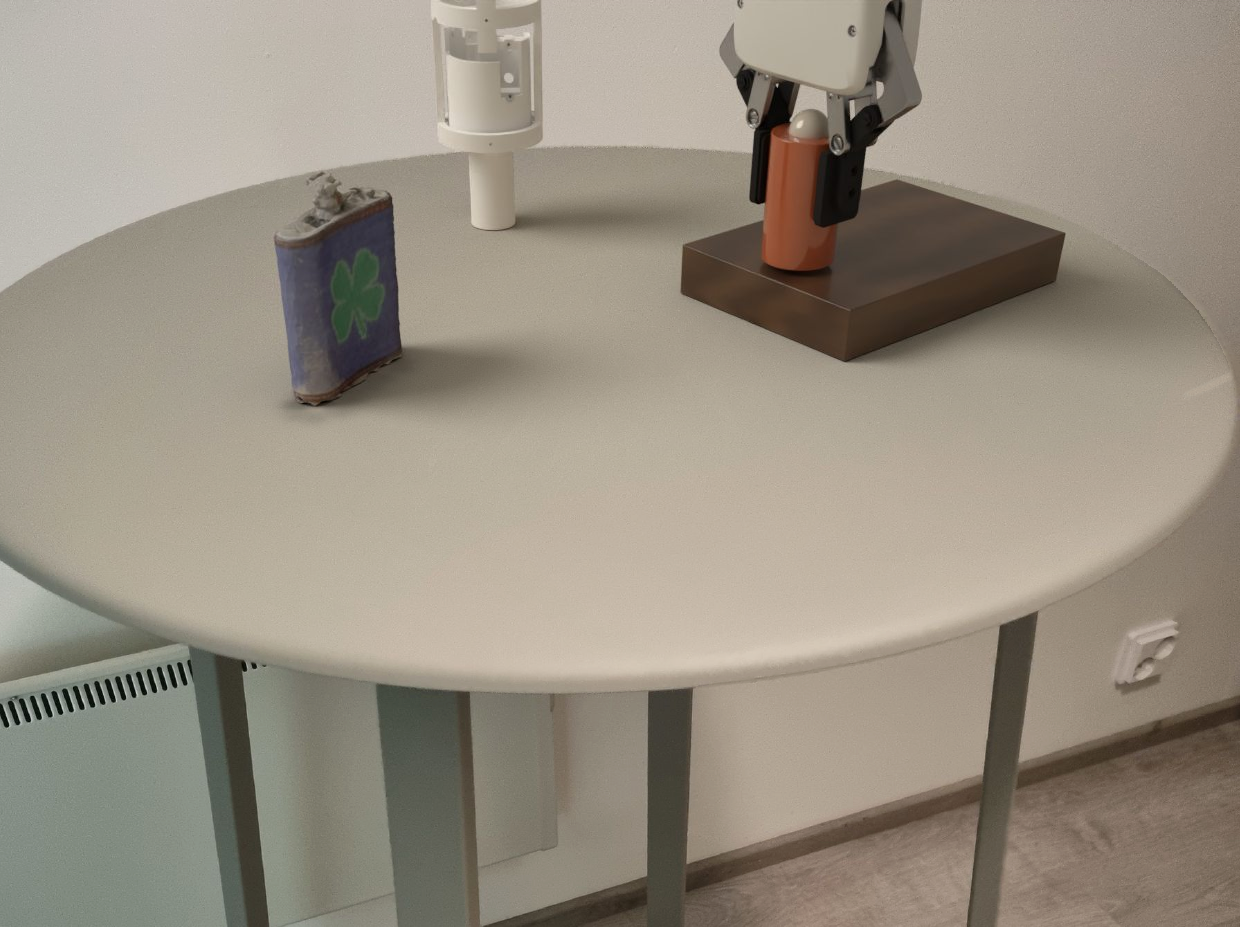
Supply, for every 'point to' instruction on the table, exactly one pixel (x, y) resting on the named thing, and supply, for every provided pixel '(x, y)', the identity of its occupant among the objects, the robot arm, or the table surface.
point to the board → (878, 271)
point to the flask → (339, 289)
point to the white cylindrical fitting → (488, 96)
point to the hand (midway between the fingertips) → (802, 207)
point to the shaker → (796, 196)
